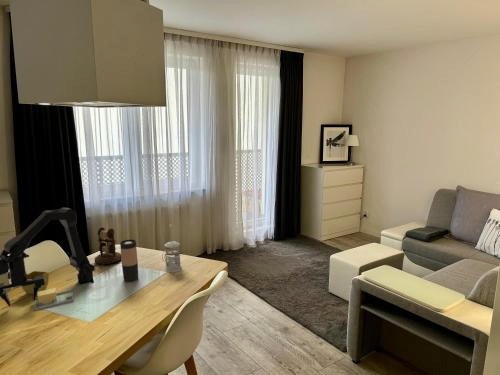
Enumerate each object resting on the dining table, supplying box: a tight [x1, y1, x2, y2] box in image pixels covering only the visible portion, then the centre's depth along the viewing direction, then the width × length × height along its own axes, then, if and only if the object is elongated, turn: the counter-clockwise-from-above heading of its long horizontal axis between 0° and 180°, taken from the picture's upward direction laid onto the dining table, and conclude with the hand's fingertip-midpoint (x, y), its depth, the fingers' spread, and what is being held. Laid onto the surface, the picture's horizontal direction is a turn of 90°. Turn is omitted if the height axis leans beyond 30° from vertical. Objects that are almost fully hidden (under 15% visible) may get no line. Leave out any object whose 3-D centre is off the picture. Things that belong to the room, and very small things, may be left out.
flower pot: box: [21, 270, 50, 296], centre depth 163 cm, size 9×9×9 cm
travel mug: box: [119, 239, 139, 283], centre depth 176 cm, size 8×8×20 cm
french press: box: [161, 224, 183, 273], centre depth 187 cm, size 10×12×25 cm
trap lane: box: [34, 289, 75, 311], centre depth 156 cm, size 15×11×1 cm
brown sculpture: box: [94, 227, 121, 266], centre depth 200 cm, size 15×15×20 cm
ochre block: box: [37, 287, 57, 304], centre depth 155 cm, size 7×5×4 cm
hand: (22, 303), depth 151 cm, fingers open, 9 cm apart
